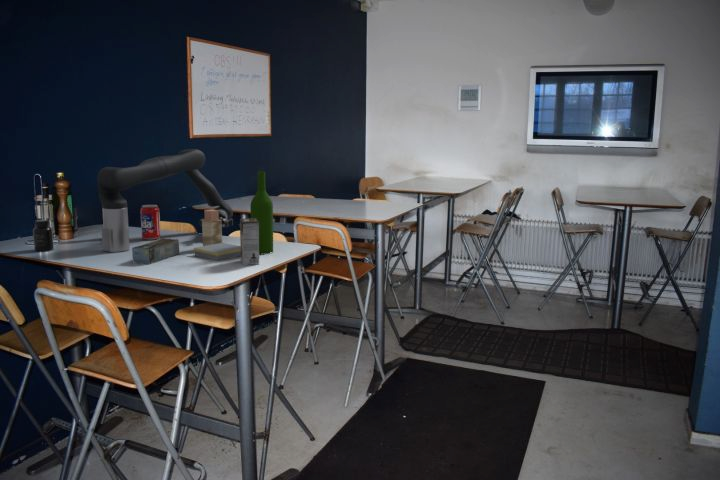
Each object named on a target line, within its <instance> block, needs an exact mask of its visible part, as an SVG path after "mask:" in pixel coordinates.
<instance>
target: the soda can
mask: <svg viewBox="0 0 720 480" xmlns="http://www.w3.org/2000/svg"><path fill="white" fill-rule="evenodd" d="M160 218H161V216H160V208H159V207H158V205H157V204H144V205H143V204H142V205H141V208H140V228H141V229H140V230H141V238H142V239H143V240H145V239H146V240H147V241H157V240H159V238H160V239H161V221H160V220H161V219H160ZM146 240H145V241H146Z"/></svg>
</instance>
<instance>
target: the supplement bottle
mask: <svg viewBox="0 0 720 480" xmlns="http://www.w3.org/2000/svg"><path fill="white" fill-rule="evenodd" d="M49 225H50V221H49V220H48V219H38V220H37V219H36V220H35V221H34V228H33V229H32V237H33V247H34V251H35V252H40V251H41V252H50V251H49V250H51V251H53V250H54V237H53V236H54V235H53V234H54V233H53V228H52V227H51V226H49Z"/></svg>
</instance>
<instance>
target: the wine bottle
mask: <svg viewBox="0 0 720 480" xmlns="http://www.w3.org/2000/svg"><path fill="white" fill-rule="evenodd" d="M250 218H257V220H258V222H259V253H269V254H271V253H270V252H272V253H274V205H273V200H272V199H271V197H270V196H269V194H268V193H267V191H266V172H265V171H257V191H256V193H255V194H254V196H253V198H252V200H251V201H250Z"/></svg>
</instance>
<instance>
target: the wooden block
mask: <svg viewBox="0 0 720 480" xmlns="http://www.w3.org/2000/svg"><path fill="white" fill-rule="evenodd" d="M221 221H222V220H216V221H207V220H202V226H201V228H202V232H201V233H202V246H207V245H212V244H218V243H223V231H222V230H223V229H222V228H223V227H222V222H221Z"/></svg>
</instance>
